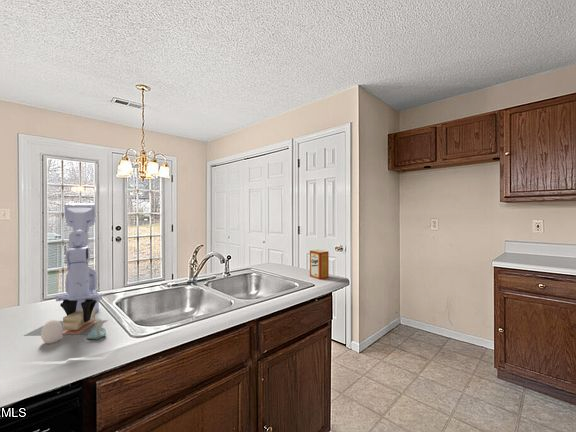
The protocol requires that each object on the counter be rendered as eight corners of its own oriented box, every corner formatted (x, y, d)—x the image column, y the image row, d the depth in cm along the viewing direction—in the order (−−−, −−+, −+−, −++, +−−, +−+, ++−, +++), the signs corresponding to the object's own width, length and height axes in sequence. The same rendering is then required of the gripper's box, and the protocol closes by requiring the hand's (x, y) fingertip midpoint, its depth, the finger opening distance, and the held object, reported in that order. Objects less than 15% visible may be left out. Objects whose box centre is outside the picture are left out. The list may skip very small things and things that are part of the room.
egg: (65, 338, 93) (65, 315, 93) (59, 345, 88) (59, 321, 88) (45, 341, 91) (44, 318, 91) (38, 348, 86) (37, 324, 86)
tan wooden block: (76, 329, 96) (76, 317, 96) (63, 329, 96) (63, 317, 96) (94, 319, 105) (94, 308, 105) (82, 319, 105) (82, 308, 105)
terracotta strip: (81, 321, 105) (81, 321, 105) (98, 321, 106) (98, 320, 106) (59, 334, 95) (59, 333, 95) (78, 333, 95) (78, 333, 95)
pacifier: (83, 346, 88) (106, 341, 91) (82, 326, 88) (105, 321, 91) (83, 338, 94) (105, 332, 97) (82, 319, 94) (104, 314, 97)
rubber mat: (52, 322, 106) (52, 321, 106) (108, 322, 106) (108, 320, 106) (23, 337, 94) (23, 335, 94) (85, 336, 94) (85, 334, 94)
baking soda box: (309, 276, 175) (309, 250, 175) (318, 274, 179) (318, 249, 178) (320, 279, 167) (320, 252, 167) (328, 278, 171) (328, 251, 171)
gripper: (48, 285, 96) (49, 326, 96) (92, 284, 96) (93, 325, 96) (64, 280, 103) (65, 317, 103) (105, 279, 103) (106, 317, 103)
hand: (79, 321), depth 100 cm, fingers closed on tan wooden block, 4 cm apart
